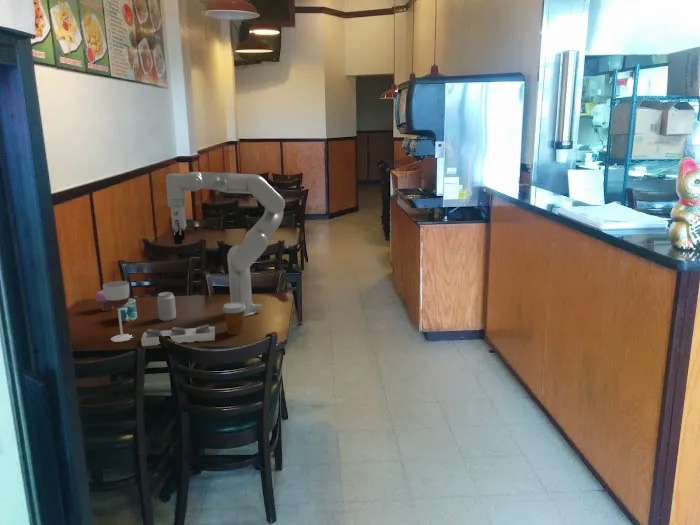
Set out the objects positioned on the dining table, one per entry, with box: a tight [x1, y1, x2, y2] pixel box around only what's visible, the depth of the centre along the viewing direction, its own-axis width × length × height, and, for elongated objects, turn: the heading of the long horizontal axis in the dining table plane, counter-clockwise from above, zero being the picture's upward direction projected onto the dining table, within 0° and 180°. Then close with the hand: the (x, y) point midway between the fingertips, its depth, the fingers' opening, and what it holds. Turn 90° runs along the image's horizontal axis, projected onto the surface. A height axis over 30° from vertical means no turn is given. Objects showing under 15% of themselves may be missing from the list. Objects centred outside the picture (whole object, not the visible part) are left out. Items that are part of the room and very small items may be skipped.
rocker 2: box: [195, 323, 210, 332], centre depth 232 cm, size 5×3×1 cm, turn 101°
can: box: [156, 291, 177, 322], centre depth 256 cm, size 8×8×12 cm
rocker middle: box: [171, 326, 186, 333], centre depth 230 cm, size 5×3×1 cm, turn 101°
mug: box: [116, 298, 138, 322], centre depth 256 cm, size 8×12×8 cm
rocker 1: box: [146, 328, 162, 335], centre depth 229 cm, size 5×3×1 cm, turn 101°
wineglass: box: [102, 280, 134, 343], centre depth 233 cm, size 9×10×23 cm
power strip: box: [140, 326, 216, 347], centre depth 232 cm, size 28×8×3 cm, turn 101°
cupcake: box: [95, 289, 114, 312], centre depth 271 cm, size 9×9×10 cm
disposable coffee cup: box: [221, 301, 246, 336], centre depth 238 cm, size 10×10×12 cm
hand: (179, 241), depth 249 cm, fingers open, 9 cm apart
